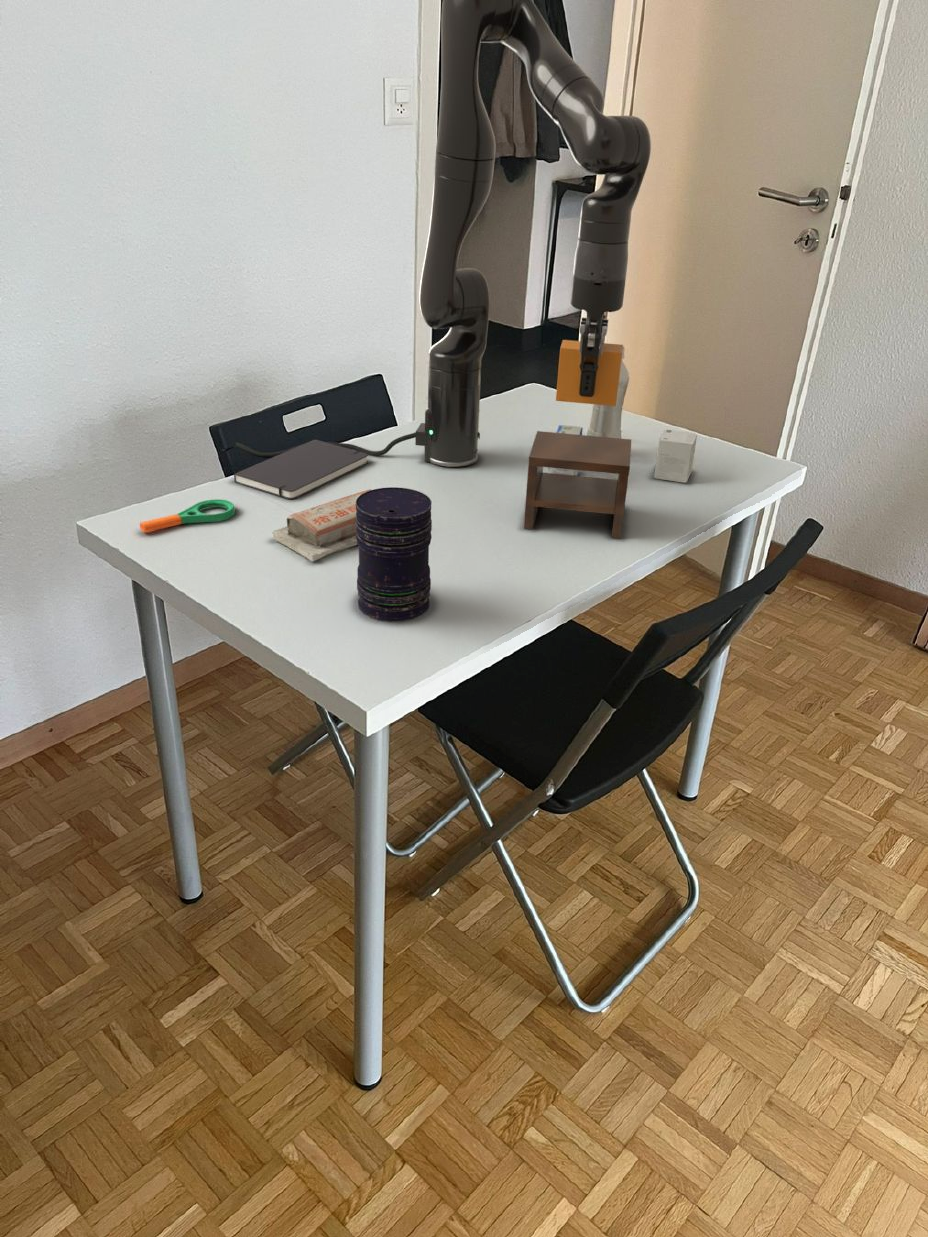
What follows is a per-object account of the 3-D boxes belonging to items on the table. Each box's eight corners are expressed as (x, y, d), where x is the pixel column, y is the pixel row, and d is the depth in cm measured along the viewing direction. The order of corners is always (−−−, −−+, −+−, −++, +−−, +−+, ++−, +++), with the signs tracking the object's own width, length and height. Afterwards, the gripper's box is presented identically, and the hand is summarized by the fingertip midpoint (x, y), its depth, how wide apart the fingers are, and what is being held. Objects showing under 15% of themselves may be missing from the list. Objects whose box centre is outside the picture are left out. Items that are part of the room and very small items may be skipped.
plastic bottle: (594, 444, 188) (606, 340, 178) (626, 452, 185) (639, 346, 175) (578, 453, 184) (588, 346, 173) (609, 462, 180) (622, 354, 170)
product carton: (687, 483, 172) (693, 444, 169) (653, 478, 174) (658, 439, 170) (691, 472, 177) (698, 433, 174) (658, 467, 179) (663, 428, 175)
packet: (555, 400, 147) (560, 347, 143) (558, 391, 151) (562, 339, 147) (615, 406, 146) (622, 352, 142) (616, 396, 150) (623, 344, 145)
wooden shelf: (523, 528, 154) (528, 456, 148) (532, 499, 164) (537, 430, 158) (620, 538, 152) (629, 466, 146) (622, 508, 162) (631, 439, 156)
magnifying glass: (223, 502, 159) (222, 493, 158) (242, 515, 155) (241, 505, 154) (134, 527, 150) (132, 516, 149) (152, 540, 146) (150, 530, 145)
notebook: (315, 447, 182) (234, 482, 166) (314, 439, 181) (233, 473, 165) (369, 462, 176) (291, 500, 160) (369, 454, 175) (291, 491, 160)
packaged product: (363, 481, 156) (405, 500, 150) (364, 509, 158) (405, 529, 152) (269, 511, 145) (311, 533, 139) (271, 540, 147) (312, 564, 141)
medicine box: (574, 489, 168) (579, 441, 164) (548, 486, 169) (552, 439, 165) (578, 472, 175) (583, 426, 171) (554, 470, 176) (558, 423, 171)
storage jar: (362, 584, 136) (360, 485, 129) (432, 588, 136) (434, 488, 129) (352, 621, 128) (350, 516, 120) (427, 624, 128) (429, 520, 120)
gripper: (576, 261, 145) (566, 375, 154) (569, 281, 133) (558, 403, 142) (627, 265, 144) (614, 379, 153) (624, 285, 132) (610, 407, 141)
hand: (587, 390), depth 147 cm, fingers closed on packet, 4 cm apart
